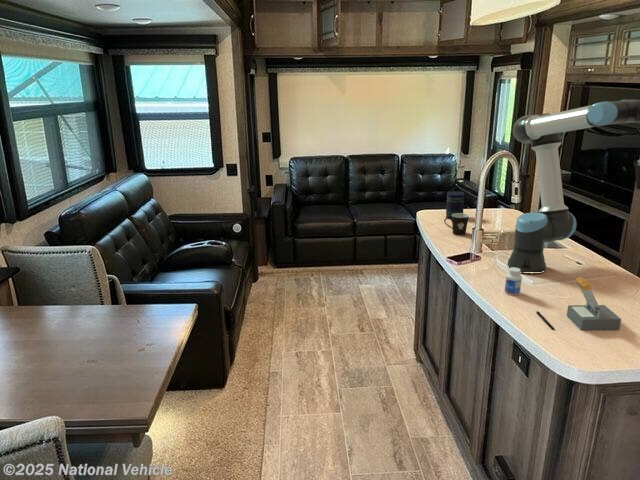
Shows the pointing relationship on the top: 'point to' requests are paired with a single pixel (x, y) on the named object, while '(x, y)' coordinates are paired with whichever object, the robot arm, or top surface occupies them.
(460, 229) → the coffee mug
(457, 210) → the storage jar
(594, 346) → the top surface
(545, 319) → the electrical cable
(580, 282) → the lever
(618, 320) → the switch box
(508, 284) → the pill bottle
